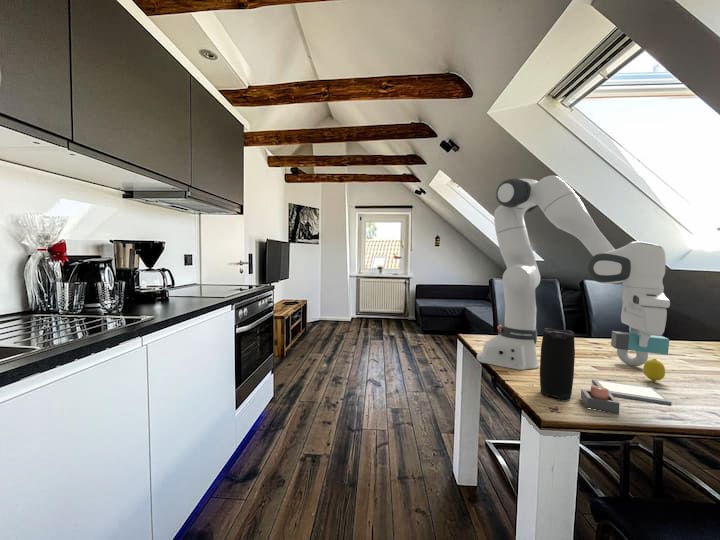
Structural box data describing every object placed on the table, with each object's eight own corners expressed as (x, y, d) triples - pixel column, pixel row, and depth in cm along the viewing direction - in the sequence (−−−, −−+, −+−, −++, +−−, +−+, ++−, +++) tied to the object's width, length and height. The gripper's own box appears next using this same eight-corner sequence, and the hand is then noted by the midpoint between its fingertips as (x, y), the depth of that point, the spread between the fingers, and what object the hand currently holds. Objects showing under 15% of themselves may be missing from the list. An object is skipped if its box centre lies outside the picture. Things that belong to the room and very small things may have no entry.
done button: (592, 400, 88) (593, 389, 88) (588, 395, 92) (589, 384, 92) (610, 403, 86) (611, 392, 86) (605, 397, 90) (606, 387, 90)
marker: (615, 348, 95) (616, 333, 94) (610, 345, 98) (612, 330, 98) (667, 355, 90) (669, 339, 90) (661, 351, 94) (662, 336, 93)
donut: (649, 369, 124) (650, 343, 124) (645, 370, 123) (646, 344, 123) (618, 361, 133) (619, 337, 133) (614, 362, 132) (615, 338, 131)
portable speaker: (571, 393, 97) (575, 329, 97) (572, 405, 89) (576, 335, 89) (539, 387, 102) (542, 325, 101) (537, 397, 94) (541, 330, 93)
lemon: (668, 385, 107) (670, 361, 107) (649, 383, 108) (651, 360, 108) (657, 379, 113) (658, 357, 112) (638, 378, 114) (640, 355, 114)
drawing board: (603, 394, 98) (603, 391, 98) (592, 381, 109) (592, 378, 109) (671, 404, 92) (671, 401, 92) (652, 389, 103) (652, 387, 103)
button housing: (587, 408, 87) (587, 398, 87) (580, 399, 94) (581, 388, 94) (619, 414, 85) (619, 403, 84) (609, 403, 91) (610, 393, 91)
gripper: (616, 293, 104) (613, 335, 105) (642, 299, 86) (638, 351, 86) (641, 295, 102) (637, 338, 102) (673, 302, 83) (669, 354, 84)
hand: (638, 344), depth 94 cm, fingers closed on marker, 4 cm apart
